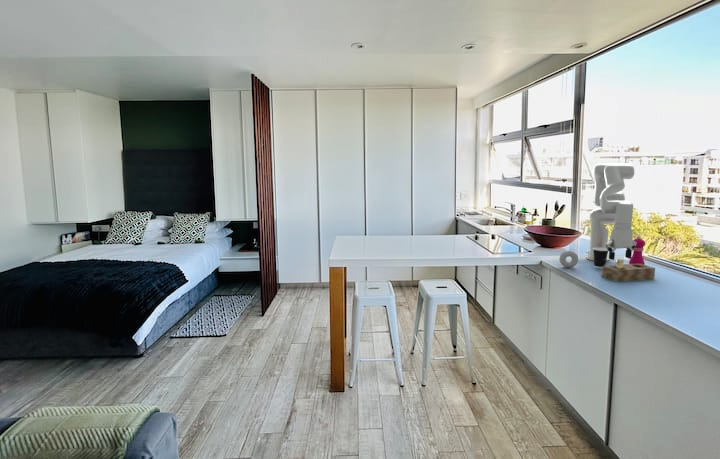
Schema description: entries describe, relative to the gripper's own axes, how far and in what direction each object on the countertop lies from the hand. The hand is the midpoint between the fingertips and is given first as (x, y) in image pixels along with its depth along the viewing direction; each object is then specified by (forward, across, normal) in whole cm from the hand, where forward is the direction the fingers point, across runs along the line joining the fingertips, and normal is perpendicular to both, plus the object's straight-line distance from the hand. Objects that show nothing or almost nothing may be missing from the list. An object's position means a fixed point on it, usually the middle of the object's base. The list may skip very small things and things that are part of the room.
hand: (619, 258), depth 217 cm
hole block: (+11, -5, +1) cm, 12 cm away
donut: (+11, +11, -25) cm, 30 cm away
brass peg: (+11, 0, 0) cm, 11 cm away
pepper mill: (+11, -19, -9) cm, 24 cm away
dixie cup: (+11, -6, -21) cm, 25 cm away
